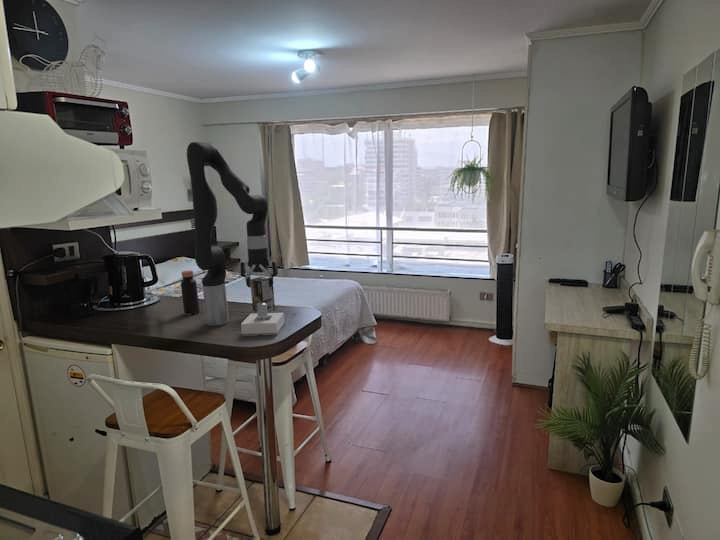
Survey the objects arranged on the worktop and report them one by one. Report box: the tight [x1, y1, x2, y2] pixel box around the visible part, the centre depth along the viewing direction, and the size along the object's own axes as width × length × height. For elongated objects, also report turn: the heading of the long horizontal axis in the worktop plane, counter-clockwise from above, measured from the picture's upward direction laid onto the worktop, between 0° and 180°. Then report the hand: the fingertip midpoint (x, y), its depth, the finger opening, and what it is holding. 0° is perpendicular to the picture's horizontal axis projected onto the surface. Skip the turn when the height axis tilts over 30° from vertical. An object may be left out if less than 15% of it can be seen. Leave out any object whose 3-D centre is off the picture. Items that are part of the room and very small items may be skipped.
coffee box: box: [250, 276, 276, 313], centre depth 210 cm, size 9×6×16 cm
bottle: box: [180, 270, 200, 315], centre depth 215 cm, size 7×7×20 cm
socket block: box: [240, 312, 285, 337], centre depth 187 cm, size 14×14×5 cm
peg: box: [257, 302, 268, 321], centre depth 187 cm, size 4×4×10 cm
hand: (260, 286), depth 184 cm, fingers open, 8 cm apart
